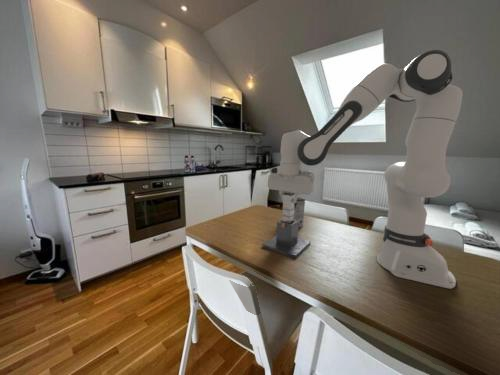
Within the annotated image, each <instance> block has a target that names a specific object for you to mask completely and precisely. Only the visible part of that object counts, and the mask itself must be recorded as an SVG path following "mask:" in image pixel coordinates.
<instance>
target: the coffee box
mask: <svg viewBox="0 0 500 375" xmlns="http://www.w3.org/2000/svg"><path fill="white" fill-rule="evenodd" d="M305 202H306V199H305V198H302V197H300V196H298V198H297V202H296V203H294V208H295V209H294V219H293V220H295V221H299V222H298V228H302V227H304V217H305Z"/></svg>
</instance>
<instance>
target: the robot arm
mask: <svg viewBox="0 0 500 375" xmlns="http://www.w3.org/2000/svg"><path fill="white" fill-rule="evenodd" d="M452 80H453V74H452V60H451V58H450V56H449V54H448V53H447V52H445V51H443V50H440V49H433V50H427V51H425V52H423V53H421V54H419V55H417V56H416V57H414V58H413V60H411V61H410V63H408V65H407V66H405V67H404V68H398V67H396V66H395V65H393V64H391V63H380V64H379V65H377V66H376V67H374V68H373V69H372V70H370V71H369V72H368V73H367V74H366V75H364V76H363V78H362V79H360V80H359V81H357V84H355V85H354V87H352V89H350V91H349V92H348V94H346V96H345V97H344V99H343V101H342V103H341V104H340V107H339V108H338V110H336V113H335V114H334V115H333V116H332V117H331V118H330V119H329V120H328V121H327V123H325V124H324V125H323V126H322V127H321V129H320V130H318V131H317V132H316V133H314V134H313V135H311V136H310V135H308V134H307V133H305V132H303V131H302V130H300V129H292V130H289V131H286V132H284V133H283V135H282V137H281V141H280V157H281V158H280V162H279V165H277V166H274V167H271V168H269V171H268V172H269V175H268V178H267V188H268V189H269V190H274V191H278V192H279V193H278V194H279V195H280V197H281V198H280V199H281V201H282V202H283V194H284V193H285V192H293V193H295V198H293V199H292V203H296V202H297V198H298V197H300V195H308V196H309V195H311V194H313V193H314V190H315V189H314V181H315V175H314V173H313V172H311V171H306V170H302V163H303V164H304V165H307V166H311V167H312V166H317V165H319V164H320V163H322V162H323V161H324V160H325V158H326V157H327V154H328V151H329V150H330V147H331V146H332V144H333V143H334V142H335V141H337V139H338V138H339V137H340V136H341V135H342V134H343V133H344V132H345V131H346V130H347V129H349V128H350V127H351V126H352V125H353V124H356V123H357V122H360V121H362V120H364V119H365V118H366V117H368V116H369V115H371V113H373V112H375V110H376V109H377V108H378V107H380V105H381V104H382V103H384V101H385V100H386V99H388V98H391V99H395V100H397V101H399V102H402V103H409V102H413V101H415V102H416V112H414V115H413V118H412V120H411V124H410V126H409V129H408V132H407V135H406V138H405V142H404V143H405V147H406V160H405V161H403V160H402V161H399V162H395V163H393V164H391V165H389V166H388V167H387V168H386V169H385V171H384V174H383V176H384V177H383V178H384V181H385V182H386V187H387V188H386V190H387V192H386V193H387V199H388V200H387V201H388V210H387V211H388V212H387V217H386V218H387V219H386V225H385V226H384V229H383V236H382V240H383V241H382V244H381V248H380V252H379V254H378V255H377V258H376V262H377V263H378V264H379V265H380V266H381V267H383V268H384V269H386V270H387V271H389V272H390V273H391V274H392V275H394V276H395V277H397V278H400V279H401V278H402V279H405V280H409V281H410V280H411V281H415V282H419V283H422V284H423V283H424V284H428V285H430V286H431V285H432V286H436V287H440V288H445V289H451V290H452V289H454V288H455V287H456V284H457V283H456V280H457V279H456V277H455V276H454V274H453V273H452V272H451V270H449V269H448V263H447V260H446V259H445V258H444V256H443V255H442V254H440V253H439V252H438V251H437V250H436V249H435V248H433V245H434V241H433V240H432V238H431V237H430V236H429V234H428V233H425V227H426V221H427V216H428V215H427V214H428V213H427V209H426V207H425V205H424V203H423V202H424V201H423V198H436V197H439V196H441V195H443V194H445V193H446V192H447V191H448V190H449V188H450V186H451V182H452V181H451V176H450V174H449V172H448V171H447V168H446V157H447V156H446V154H447V148H448V144H449V142H450V139H451V136H452V133H453V131H454V128H455V125H456V123H457V122H458V121H457V120H458V117H459V114H460V112H461V107H462V102H463V94H464V93H463V90H462V88H461V87H459V86H456V85H453V84H451V83H452Z"/></svg>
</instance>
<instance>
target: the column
mask: <svg viewBox="0 0 500 375" xmlns="http://www.w3.org/2000/svg"><path fill="white" fill-rule="evenodd" d="M295 196H296V195H295V193H293V192H286V191H284V193H283V201H282V208H281V210H282V214H281V218H282V219H281V220H282V223H286V224H292V223H293V219H294V209H295V208H294V203H292V199H293V198H295Z"/></svg>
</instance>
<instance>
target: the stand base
mask: <svg viewBox="0 0 500 375" xmlns="http://www.w3.org/2000/svg"><path fill="white" fill-rule="evenodd" d="M298 222H299V221H295V220H293V223H292V224H286V223H282V219H280V220H278V221H277V222H276V235H274V236H273V237H271V238H269V239H268V240H266V241H265V242H263V243H262V244H261V245H262V246H261V247H262V248H263V249H267V250H269V251H272V252H276V253H278V254H280V255H283V256H287V257H289V258H292V259H295V260H296V259H297V258H298V257H300V255H301V254H302V253H303V252H304V251H306V249H307V248H309V247H310V245H311V241H310V240H308V239H303V238H299V236H298V234H299V227H298Z"/></svg>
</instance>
